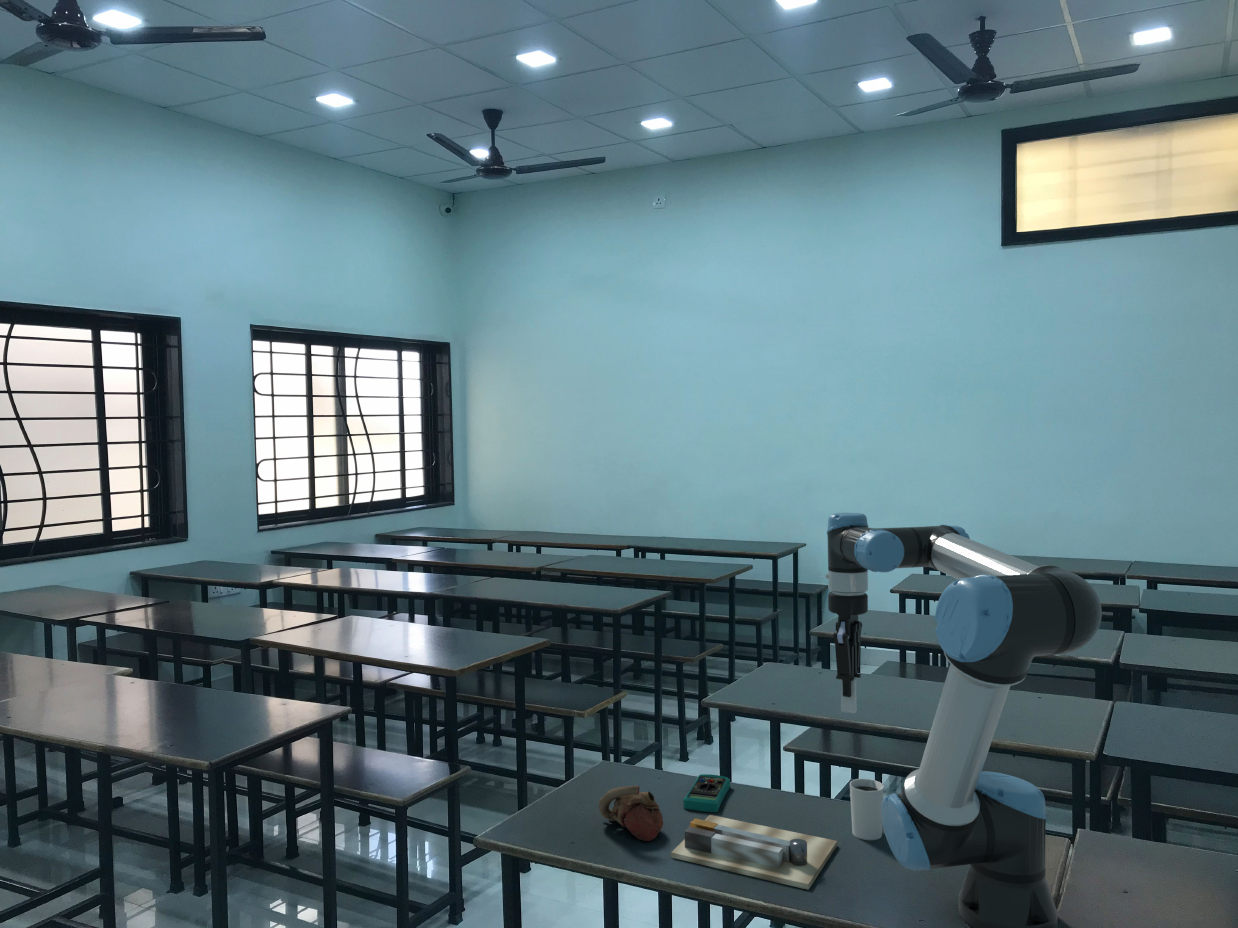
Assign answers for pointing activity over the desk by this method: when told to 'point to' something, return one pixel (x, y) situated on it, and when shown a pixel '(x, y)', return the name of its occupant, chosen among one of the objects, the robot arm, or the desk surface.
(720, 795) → the digital multimeter
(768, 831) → the board
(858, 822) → the white coffee cup
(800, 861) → the bar
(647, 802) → the anatomical model
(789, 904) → the desk surface
